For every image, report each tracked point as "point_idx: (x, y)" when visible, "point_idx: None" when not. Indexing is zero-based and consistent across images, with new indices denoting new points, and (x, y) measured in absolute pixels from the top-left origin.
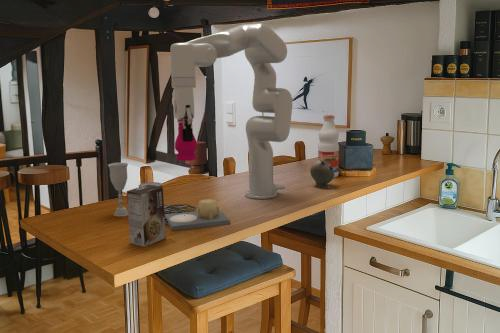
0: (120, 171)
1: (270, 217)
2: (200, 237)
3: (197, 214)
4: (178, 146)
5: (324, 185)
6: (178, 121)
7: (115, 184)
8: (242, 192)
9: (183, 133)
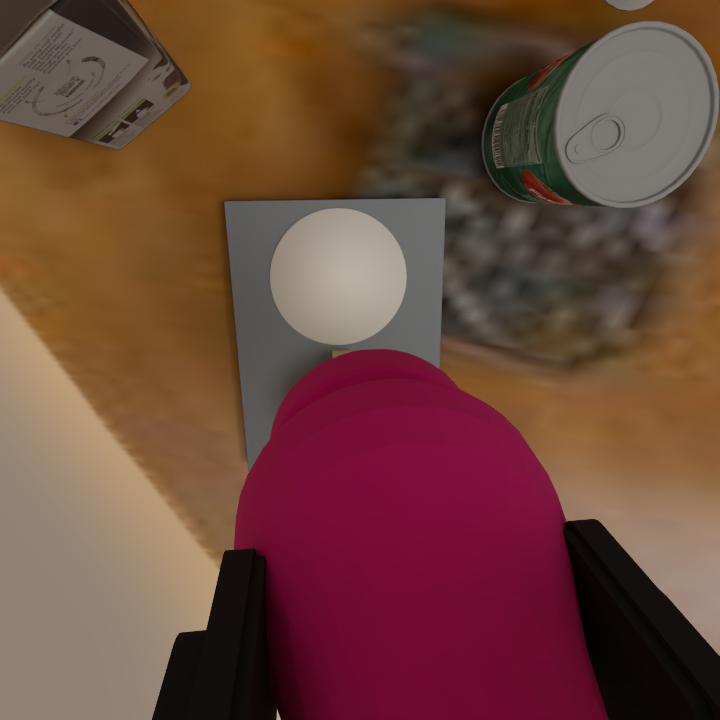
0: None
1: None
2: (97, 309)
3: (346, 352)
4: (294, 430)
5: None
6: None
7: None
8: (692, 600)
9: (203, 681)
